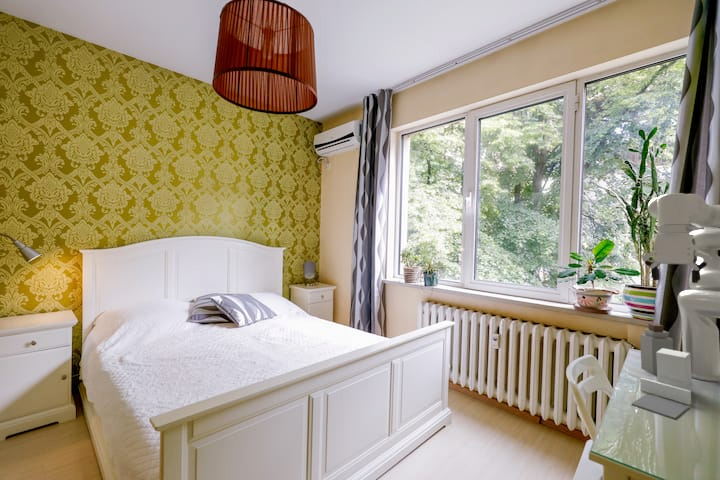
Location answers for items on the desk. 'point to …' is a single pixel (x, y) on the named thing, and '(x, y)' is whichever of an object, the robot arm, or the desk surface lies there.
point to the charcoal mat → (661, 406)
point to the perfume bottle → (653, 346)
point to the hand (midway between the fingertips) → (675, 281)
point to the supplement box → (674, 368)
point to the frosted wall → (666, 390)
